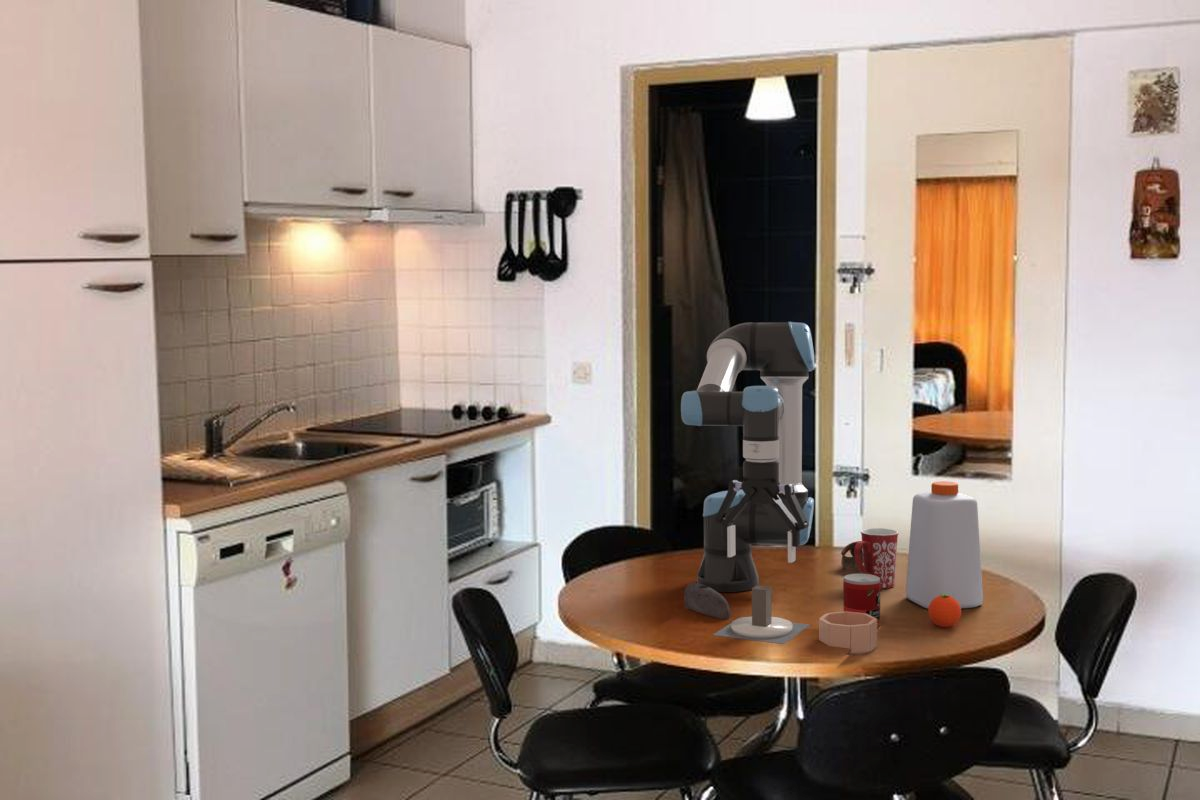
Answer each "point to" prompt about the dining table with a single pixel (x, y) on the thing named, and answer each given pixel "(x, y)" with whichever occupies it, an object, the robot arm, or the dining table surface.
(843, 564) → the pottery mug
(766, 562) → the dining table surface
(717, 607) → the perforated stone tool
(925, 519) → the plastic bottle
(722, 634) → the plate
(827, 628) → the pink faceted pot
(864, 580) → the canned food
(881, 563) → the mug
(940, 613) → the clementine
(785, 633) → the lid
